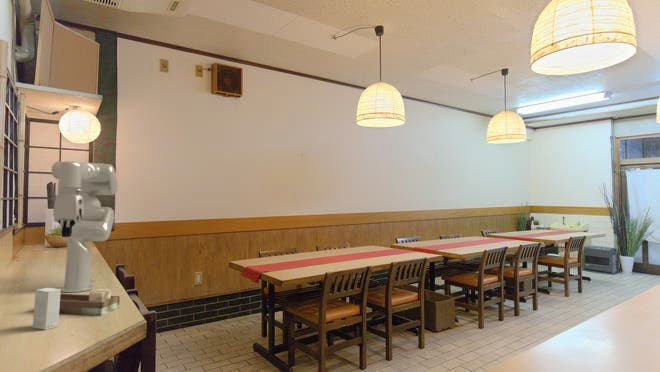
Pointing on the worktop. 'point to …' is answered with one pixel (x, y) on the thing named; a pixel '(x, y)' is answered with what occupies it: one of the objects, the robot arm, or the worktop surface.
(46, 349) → the worktop surface
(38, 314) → the skincare box
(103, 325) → the worktop surface
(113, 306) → the channel
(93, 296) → the birch block
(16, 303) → the worktop surface
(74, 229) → the robot arm
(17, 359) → the worktop surface
